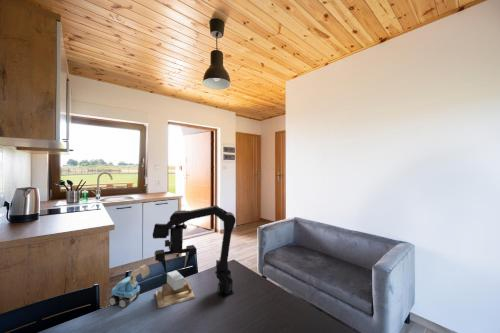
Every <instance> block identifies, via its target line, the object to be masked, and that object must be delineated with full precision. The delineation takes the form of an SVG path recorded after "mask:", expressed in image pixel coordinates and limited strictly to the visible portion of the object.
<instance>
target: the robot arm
mask: <svg viewBox="0 0 500 333" xmlns="http://www.w3.org/2000/svg"><path fill="white" fill-rule="evenodd" d="M208 216H216V218H218V219H220V220H221V221H222V223H223V234H222V242H221V248H220V256H219V259H215V262H216V263H215V267H214V274H215V275H216V278H217V280H218V283H217V293H218V294H219V295H220V297H221V298H224V297H226V296H228V297H229V296H231V295H234V293H235V292H234V291H233V282H234V280H233V276H232V271H231V270H230V269H229V263H228V258H229V253H230V245H231V238H232V232H233V230H234V228H235V224H236V217H235V214H233V212H232V211H231V212H230V211H226V210H225V209H223V208H221V207H220V206H218V205H217V204H216V205H215V204H214V205H213V206H212V205H211V206H206V207H203V208H201V207H200V208H197V209H192V210H185V209H184V210H174V212H173V213H172V214H171V215H170V217H169V220H168V221H167V223H155V224H154V228H153V232H152V239H155V240H156V239H166V240H164V247H165V248H166V247H167V248H168V250H169V251H168V250H167V251H165V250H164V249H157V250H155V251H154V255H153V256H154V259H155V260H154V261H156V262H158V263H161V264H162V267H163V270H164V273H167V264H166V263H167V262H166V257H167V256H168V257H169V256H174V255H178V254H179V255H180V254H185V258H184V269H187V267H188V264H189V263H190V260H191V259H192V258H193V257H194V256H195V255H196V254H197V249H198V248H197V247H196V246H195V245H194V244H192V245H186V247H185V248H183V243H184V241H183V240H184V239H183V236H184V235H183V234H184V230H187V228H188V225H186V224H185V222H186V223H187V222H188V221H190V220H195V219H199V218H205V217H208ZM167 237H170V238H169V239H167Z"/></svg>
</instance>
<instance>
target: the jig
mask: <svg viewBox="0 0 500 333" xmlns="http://www.w3.org/2000/svg"><path fill="white" fill-rule="evenodd" d="M195 296H196V295H195V294H194V292H193V289H192V286H191V284H190V283H188V291H184V292H180V293H176V294H172V295H168V296H164V299H163V296H162V289H161V290H160V289H159V290H155V298H156V304H157V308H158V309H160V308H163V307H167V306H168V307H169V306H171V305H172V306H173V305H176V304H180V303H182V302H185V301H189V300H193V299H195Z"/></svg>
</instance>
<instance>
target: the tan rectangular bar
mask: <svg viewBox="0 0 500 333" xmlns="http://www.w3.org/2000/svg"><path fill="white" fill-rule="evenodd" d="M188 284H189V283H188V282H187V279H184V287H182V288H180V289H177V290H174V289H173V288H172V287H171V286H170V285H169V284H168V283H165V284H162V287H161V290H162V296H163V299H164V296H168V295H172V294H176V293H180V292H184V291H188Z"/></svg>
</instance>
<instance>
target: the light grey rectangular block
mask: <svg viewBox="0 0 500 333" xmlns="http://www.w3.org/2000/svg"><path fill="white" fill-rule="evenodd" d="M184 280H185V277H184V276H183V275H182V274H181V273H180V272H179V271H177V270H176V269H175V270H173V271H170V272H166V284H169V285H170V286H171V287H172V288H173V289H174V290H177V289H180V288H182V287H184Z"/></svg>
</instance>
